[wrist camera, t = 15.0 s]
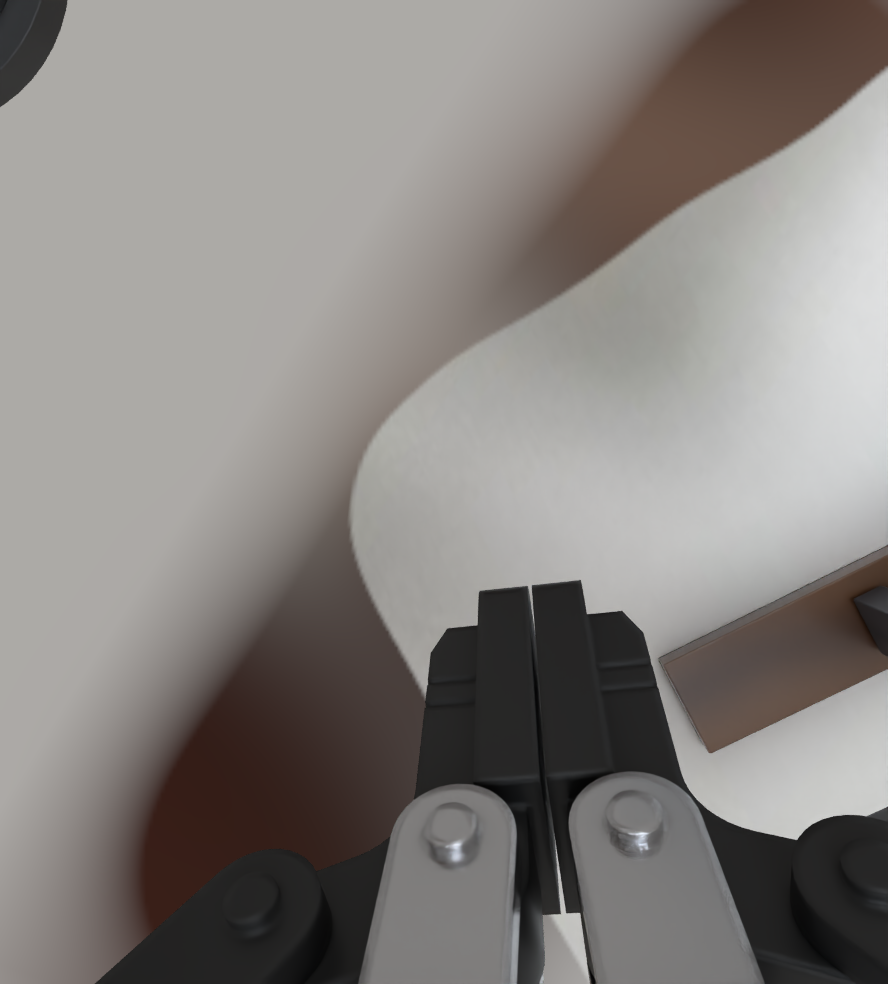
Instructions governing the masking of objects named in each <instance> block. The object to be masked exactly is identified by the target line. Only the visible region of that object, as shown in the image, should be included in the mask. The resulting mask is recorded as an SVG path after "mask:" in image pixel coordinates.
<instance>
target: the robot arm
mask: <svg viewBox="0 0 888 984" xmlns="http://www.w3.org/2000/svg"><path fill="white" fill-rule="evenodd" d="M5 3H6V0H0V14H1V12H2V10H3V7H4V5H5ZM532 596H533V609H534V623H535V630H534V623H533V616H532V609H531V602H530V595H529V589H528V586H522V587H513V588H503V589H494V590H484V591H479V602H478V626H467V627H457V628H447V630H446V631H445V633H444V634H443V636H442V637H441V639H440V640H439V642H438V643H437V645H436V646H435V648H434V649H433V651H432V652H431V656H430V665H429V674H428V685H427V692H426V701H425V703H426V708H425V711H424V719H423V729H422V737H421V746H420V756H419V765H418V774H417V783H416V792H415V797H414V801H412V802H411V804H409V805H408V806H407V807H406V808H405V809H404V811H403V812H402V813H401V815H400V816H399V817H398V819H397V821H396V823H395V825H394V828H393V831H392V834H391V836H390V837H389V838H388V839H387V840H385V841H384V842H383V843H381V844H380V845H378V846H377V847H375V848H373V849H372V850H370V851H368V852H366V853H364V854H361V855H359V856H357V857H354V858H351V859H349V860H346V861H343V862H340V863H338V864H335V865H332V866H330V867H327V868H324V869H322V870H319V871H316V870H315V869H314V867H313V865H312V864H311V863H310V862H309V861H308V860H307V859H306V858H304V857H303V856H301V855H299V854H298V853H295V852H292V851H289V850H283V849H268V850H262V851H257V852H254V853H251V854H248V855H246V856H244V857H242V858H239V859H238V860H236V861H234V862H233V863H231V864H229V865H228V866H226V867H225V868H224V869H223V870H221V871H220V872H219V873H218V874H217V875H215V876H214V877H213V878H212V879H211V880H210V881H209V882H208V883H207V884H206V885H204V886H203V887H202V888H201V889H200V890H199V891H198V892H197V893H195V894H194V896H192V897H191V898H190V899H189V900H188V901H186V902H185V903H184V904H183V905H182V906H181V907H180V908H179V909H178V910H176V911H175V912H174V913H173V914H172V915H171V916H170V917H169V918H168V919H166V920H165V921H164V922H163V923H162V924H161V925H160V926H159V927H158V928H156V929H155V930H154V931H153V932H152V933H151V934H150V935H149V936H147V937H146V938H145V939H144V940H143V941H142V942H141V943H140V944H139V945H137V946H136V947H135V948H134V949H133V950H132V951H131V952H130V953H129V954H128V955H126V956H125V957H124V958H123V959H122V960H121V961H120V962H119V963H117V964H116V965H115V966H114V967H113V968H112V969H111V970H110V971H109V972H107V973H106V974H105V975H104V976H103V977H102V978H101V979H100V980H99V981H98V982H96V983H95V984H544V978H543V969H544V962H545V951H544V936H543V935H544V933H543V916H542V915H550V914H561V911H560V898H559V886H558V873H557V861H556V848H557V854H558V861H559V868H560V874H561V881H562V888H563V894H564V901H565V908H566V913H580V914H581V921H582V928H583V936H584V943H585V950H586V957H587V965H588V972H589V980H590V984H888V822H887V821H883V820H880V819H876V818H872V817H866V816H860V815H842V816H833V817H830V818H826V819H823V820H821V821H818V822H816V823H814V824H812V825H811V826H810V827H809V828H807V829H806V830H805V831H804V832H803V833H802V834H801V836H800V837H799V838H798V840H793V839H789V838H784V837H779V836H775V835H770V834H765V833H761V832H756V831H752V830H749V829H745V828H741V827H739V826H736V825H734V824H731V823H729V822H727V821H725V820H723V819H721V818H720V817H718V816H716V815H715V814H713V813H712V812H710V811H709V810H708V809H706V808H705V807H704V806H703V805H702V804H701V803H700V802H699V801H698V800H697V799H696V798H695V797H694V796H693V794H692V793H691V792H690V791H689V789H688V787H687V785H686V784H685V782H684V779H683V777H682V774H681V771H680V767H679V763H678V760H677V756H676V752H675V749H674V745H673V741H672V737H671V734H670V730H669V726H668V723H667V719H666V715H665V712H664V708H663V704H662V700H661V697H660V693H659V689H658V688H657V682H656V678H655V674H654V671H653V667H652V665H651V660H650V656H649V652H648V649H647V645H646V641H645V637H644V634H643V632H642V631H641V630H640V629H639V628H638V627H637V626H636V625H635V624H634V623H633V622H632V621H631V620H630V619H629V618H628V617H627V616H626V614H625V613H624V612H623V611H617V612H607V613H597V614H587V612H586V607H585V601H584V595H583V589H582V584H581V580H578V581H568V582H559V583H549V584H540V585H532ZM535 636H536V637H535ZM554 834H555V836H554ZM555 841H556V848H555Z"/></svg>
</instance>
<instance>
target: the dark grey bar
mask: <svg viewBox="0 0 888 984" xmlns="http://www.w3.org/2000/svg"><path fill="white" fill-rule="evenodd" d="M854 602H855V604H856V606H857V608H858V610H859V612H860V614H861V616H862V618H863V619H864V621H865V623H866V625H867V627H868V629H869V631H870V633H871V635H872V637H873V639H874V641H875V642H876V644H877V646H878V648H879V650H880V652H881V653H882V654H883V655H885V656H887V657H888V588H887V587H884V586H879V587H877V588H875V589H873V590H871V591H869V592H867V593H865V594H862V595H860V596H858V597H856V598H854Z"/></svg>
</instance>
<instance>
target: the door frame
mask: <svg viewBox="0 0 888 984" xmlns="http://www.w3.org/2000/svg"><path fill="white" fill-rule="evenodd" d="M879 586H884V587H887V588H888V546H886V547H884V548H882V549H880V550H878V551H876V552H874V553H872V554H870V555H868V556H866V557H864V558H862V559H860V560H858V561H856V562H854V563H852V564H850V565H848V566H846V567H844V568H842V569H840V570H838V571H835V572H833V573H831V574H829V575H827V576H825V577H823V578H821V579H819V580H817V581H815V582H813V583H811V584H809V585H807V586H805V587H803V588H801V589H799V590H797V591H795V592H793V593H791V594H789V595H787V596H785V597H783V598H781V599H779V600H777V601H775V602H773V603H770V604H768V605H766V606H764V607H762V608H760V609H758V610H756V611H754V612H752V613H750V614H748V615H746V616H744V617H742V618H740V619H738V620H736V621H734V622H732V623H730V624H728V625H726V626H724V627H722V628H720V629H718V630H716V631H714V632H712V633H710V634H708V635H706V636H703V637H701V638H699V639H697V640H695V641H693V642H691V643H689V644H687V645H685V646H683V647H681V648H679V649H677V650H675V651H673V652H671V653H669V654H667V655H665V656H663V657H661V658H659V662H660V664H661V665H662V667H663V669H664V671H665V673H666V675H667V677H668V679H669V681H670V683H671V684H672V686H673V688H674V690H675V692H676V694H677V696H678V698H679V700H680V702H681V703H682V705H683V707H684V709H685V711H686V713H687V715H688V717H689V719H690V720H691V722H692V724H693V726H694V728H695V730H696V732H697V734H698V736H699V738H700V739H701V741H702V743H703V745H704V746H705V748H706V749H707V751H708V752H709V753H713V752H715V751H717V750H719V749H721V748H723V747H725V746H727V745H729V744H732V743H734V742H736V741H738V740H740V739H742V738H744V737H746V736H748V735H750V734H752V733H755V732H757V731H759V730H761V729H763V728H765V727H767V726H769V725H771V724H773V723H776V722H778V721H780V720H782V719H784V718H786V717H788V716H790V715H792V714H794V713H797V712H799V711H801V710H803V709H805V708H807V707H809V706H811V705H813V704H815V703H817V702H820V701H822V700H824V699H826V698H828V697H830V696H832V695H834V694H836V693H838V692H841V691H843V690H845V689H847V688H849V687H851V686H853V685H855V684H857V683H859V682H861V681H864V680H866V679H868V678H870V677H872V676H874V675H876V674H878V673H880V672H882V671H885V670H887V669H888V657H887V656H885V655H883V654H882V653H881V652H880V650H879V648H878V646H877V644H876V642H875V641H874V639H873V637H872V635H871V633H870V631H869V629H868V627H867V625H866V623H865V621H864V619H863V618H862V616H861V614H860V612H859V610H858V608H857V606H856V604H855V602H854V598H856V597H858V596H860V595H862V594H865V593H867V592H869V591H871V590H873V589H875V588H877V587H879ZM867 817H872V818H876V819H880V820H883V821H887V822H888V807H886V808H884V809H882V810H880V811H878V812H875V813H873V814H871V815H869V816H867Z"/></svg>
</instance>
